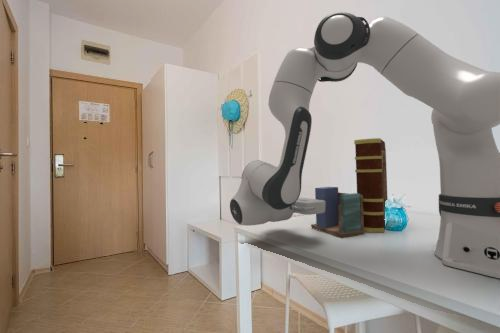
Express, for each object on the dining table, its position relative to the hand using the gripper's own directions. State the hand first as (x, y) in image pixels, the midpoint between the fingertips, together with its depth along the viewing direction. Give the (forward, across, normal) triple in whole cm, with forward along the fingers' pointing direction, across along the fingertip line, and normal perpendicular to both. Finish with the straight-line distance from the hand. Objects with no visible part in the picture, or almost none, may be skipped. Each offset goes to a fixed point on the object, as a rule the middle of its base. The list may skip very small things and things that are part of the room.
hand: (312, 201), depth 86 cm
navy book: (+6, 0, +9) cm, 11 cm away
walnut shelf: (+6, -4, +10) cm, 13 cm away
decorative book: (+23, -7, +10) cm, 26 cm away
